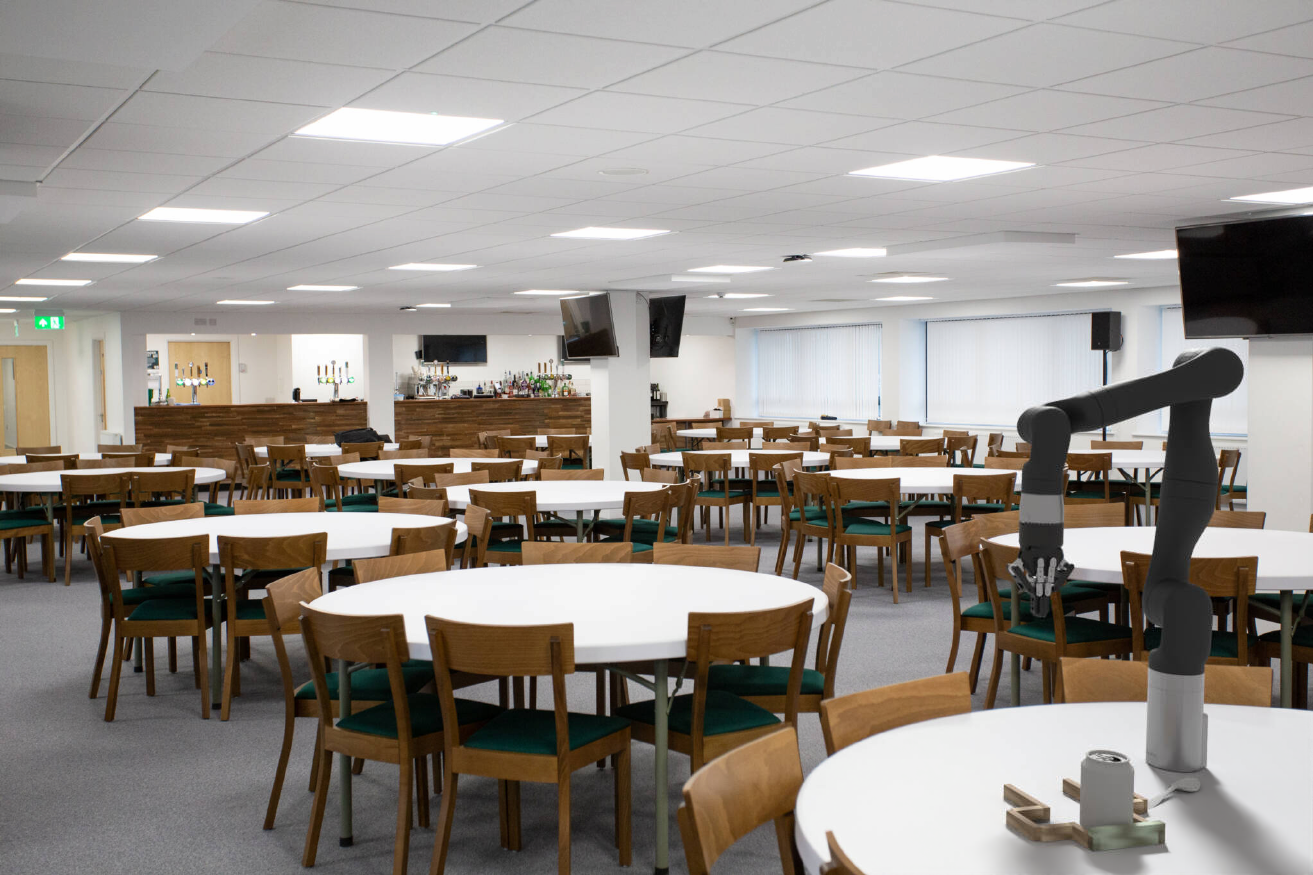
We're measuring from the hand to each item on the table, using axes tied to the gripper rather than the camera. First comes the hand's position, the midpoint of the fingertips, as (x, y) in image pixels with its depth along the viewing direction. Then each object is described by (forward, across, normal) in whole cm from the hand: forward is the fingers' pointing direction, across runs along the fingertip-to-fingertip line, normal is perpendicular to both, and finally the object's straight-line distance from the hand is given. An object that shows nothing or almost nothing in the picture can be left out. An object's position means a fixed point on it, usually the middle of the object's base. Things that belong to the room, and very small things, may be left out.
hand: (1039, 616), depth 199 cm
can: (+27, +8, +29) cm, 41 cm away
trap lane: (+27, +8, +24) cm, 37 cm away
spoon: (+28, -12, +19) cm, 36 cm away
